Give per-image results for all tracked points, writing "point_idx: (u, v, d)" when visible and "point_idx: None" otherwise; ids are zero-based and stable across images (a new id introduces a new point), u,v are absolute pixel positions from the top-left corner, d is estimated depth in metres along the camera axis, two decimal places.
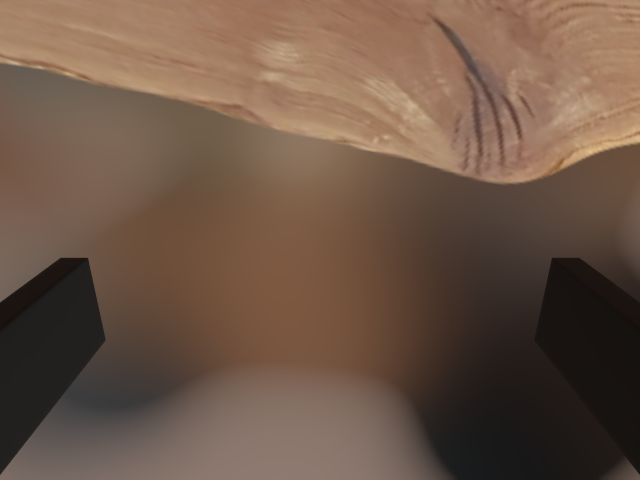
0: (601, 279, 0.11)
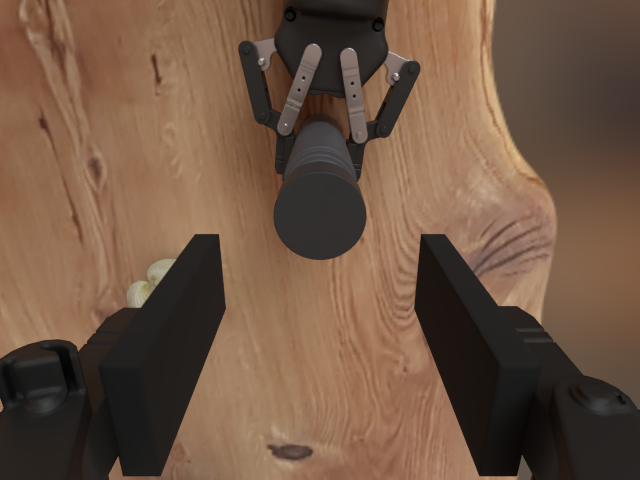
0: (450, 250, 0.13)
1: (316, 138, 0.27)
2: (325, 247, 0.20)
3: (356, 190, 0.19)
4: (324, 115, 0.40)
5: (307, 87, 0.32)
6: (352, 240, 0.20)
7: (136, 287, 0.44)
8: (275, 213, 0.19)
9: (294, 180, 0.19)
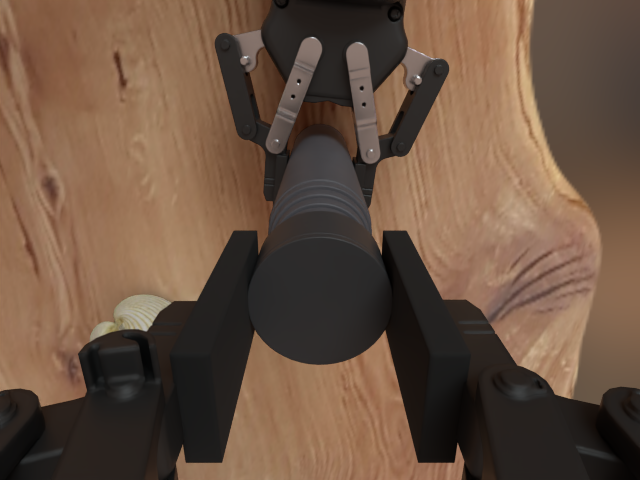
0: (408, 246, 0.13)
1: (315, 164, 0.20)
2: (328, 347, 0.13)
3: (378, 264, 0.12)
4: (325, 126, 0.33)
5: (303, 93, 0.25)
6: (370, 337, 0.13)
7: (100, 330, 0.37)
8: (249, 298, 0.12)
9: (279, 249, 0.12)
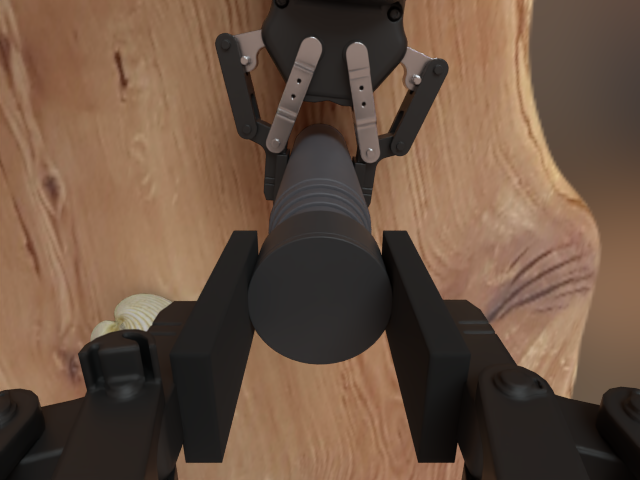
0: (408, 246, 0.13)
1: (315, 163, 0.20)
2: (360, 275, 0.12)
3: (252, 279, 0.12)
4: (325, 125, 0.33)
5: (304, 93, 0.25)
6: (328, 244, 0.12)
7: (101, 329, 0.37)
8: (347, 357, 0.13)
9: (288, 357, 0.13)
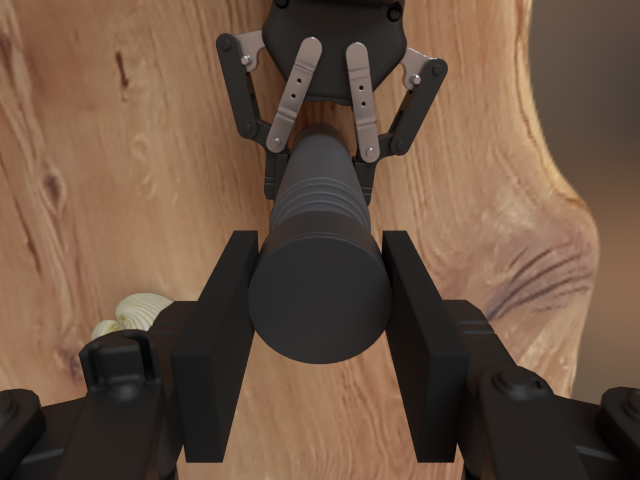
0: (408, 246, 0.13)
1: (315, 162, 0.20)
2: (271, 288, 0.12)
3: (328, 362, 0.13)
4: (325, 125, 0.33)
5: (304, 92, 0.25)
6: (261, 326, 0.13)
7: (102, 328, 0.37)
8: (363, 252, 0.12)
9: (391, 302, 0.12)
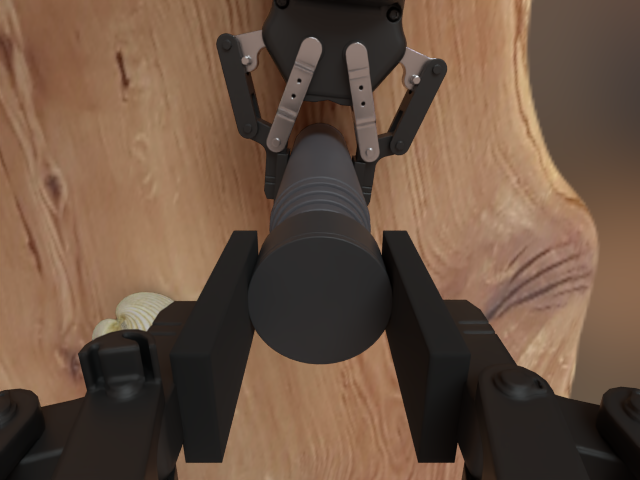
0: (408, 246, 0.13)
1: (315, 161, 0.20)
2: (327, 347, 0.13)
3: (379, 265, 0.12)
4: (325, 125, 0.33)
5: (304, 92, 0.25)
6: (370, 337, 0.13)
7: (103, 327, 0.37)
8: (249, 297, 0.12)
9: (280, 248, 0.12)
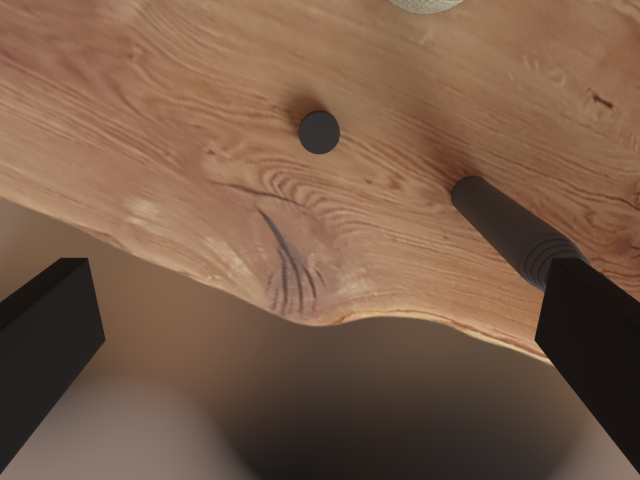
0: (601, 279, 0.11)
1: None
2: (321, 148, 0.45)
3: (335, 121, 0.44)
4: None
5: None
6: (333, 144, 0.45)
7: None
8: (299, 131, 0.44)
9: (308, 116, 0.44)
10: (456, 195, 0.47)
